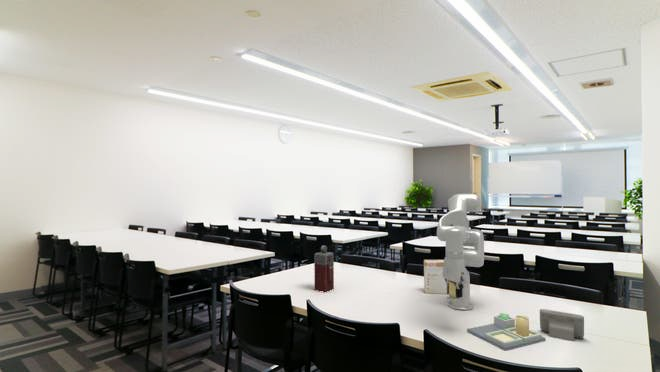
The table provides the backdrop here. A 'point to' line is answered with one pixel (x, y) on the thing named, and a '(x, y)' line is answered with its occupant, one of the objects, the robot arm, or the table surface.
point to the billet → (452, 290)
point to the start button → (504, 316)
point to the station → (508, 333)
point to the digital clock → (562, 324)
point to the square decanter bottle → (324, 270)
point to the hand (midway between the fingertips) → (454, 295)
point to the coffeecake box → (434, 277)
